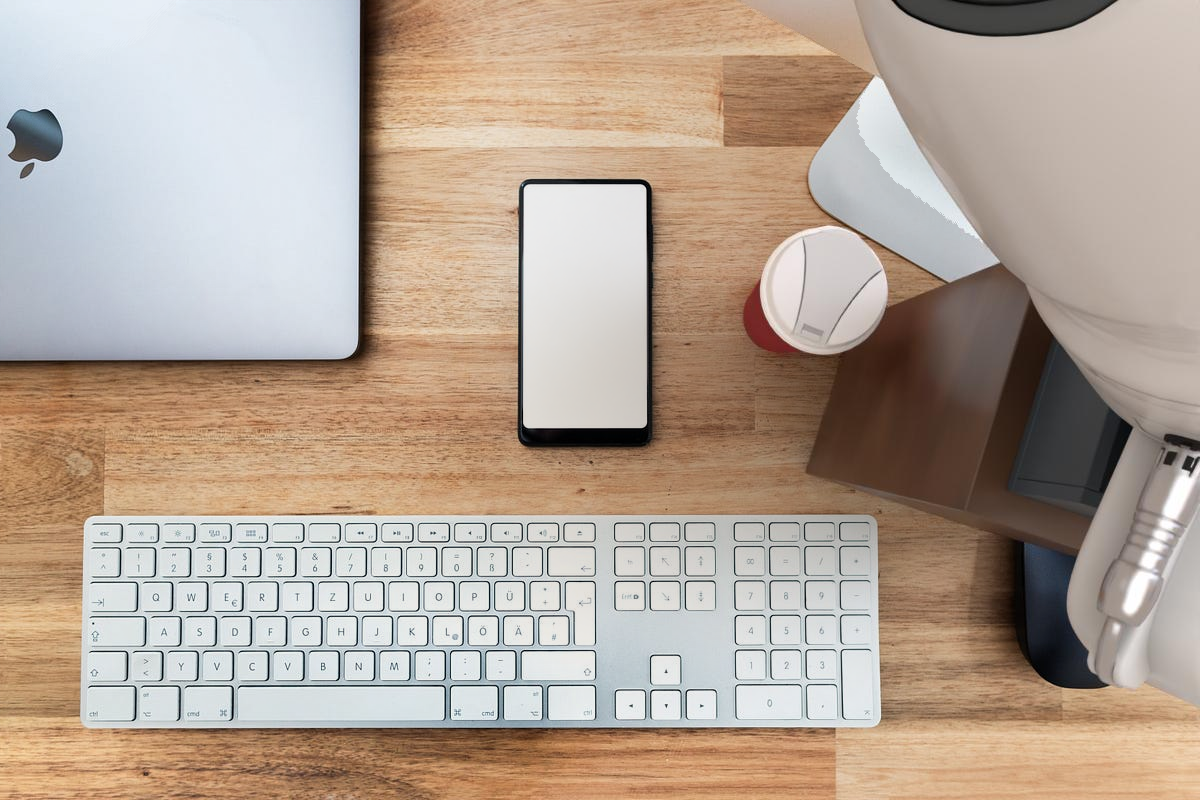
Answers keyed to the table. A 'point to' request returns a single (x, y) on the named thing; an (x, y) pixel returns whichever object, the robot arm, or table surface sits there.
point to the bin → (1068, 440)
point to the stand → (946, 409)
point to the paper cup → (817, 294)
